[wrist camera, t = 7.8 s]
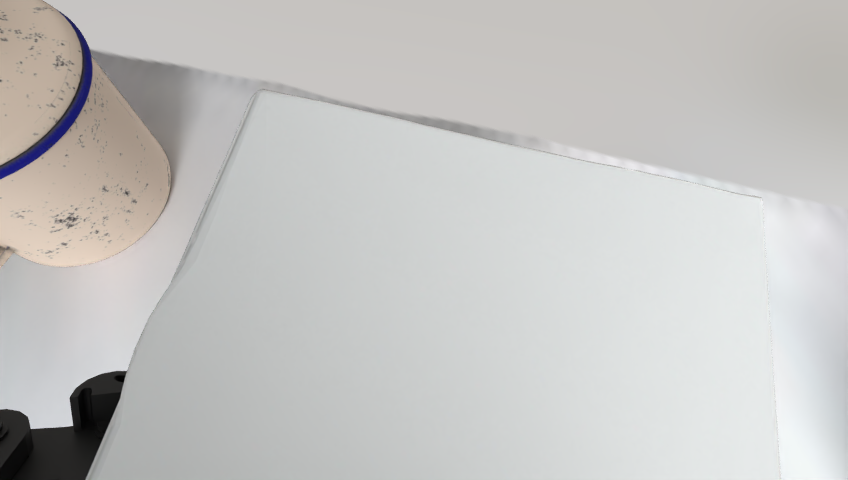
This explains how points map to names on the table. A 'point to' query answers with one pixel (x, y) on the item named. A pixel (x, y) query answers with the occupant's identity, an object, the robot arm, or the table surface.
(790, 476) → the table surface
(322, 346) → the supplement box
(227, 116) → the table surface
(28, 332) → the table surface
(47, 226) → the teacup with lid
